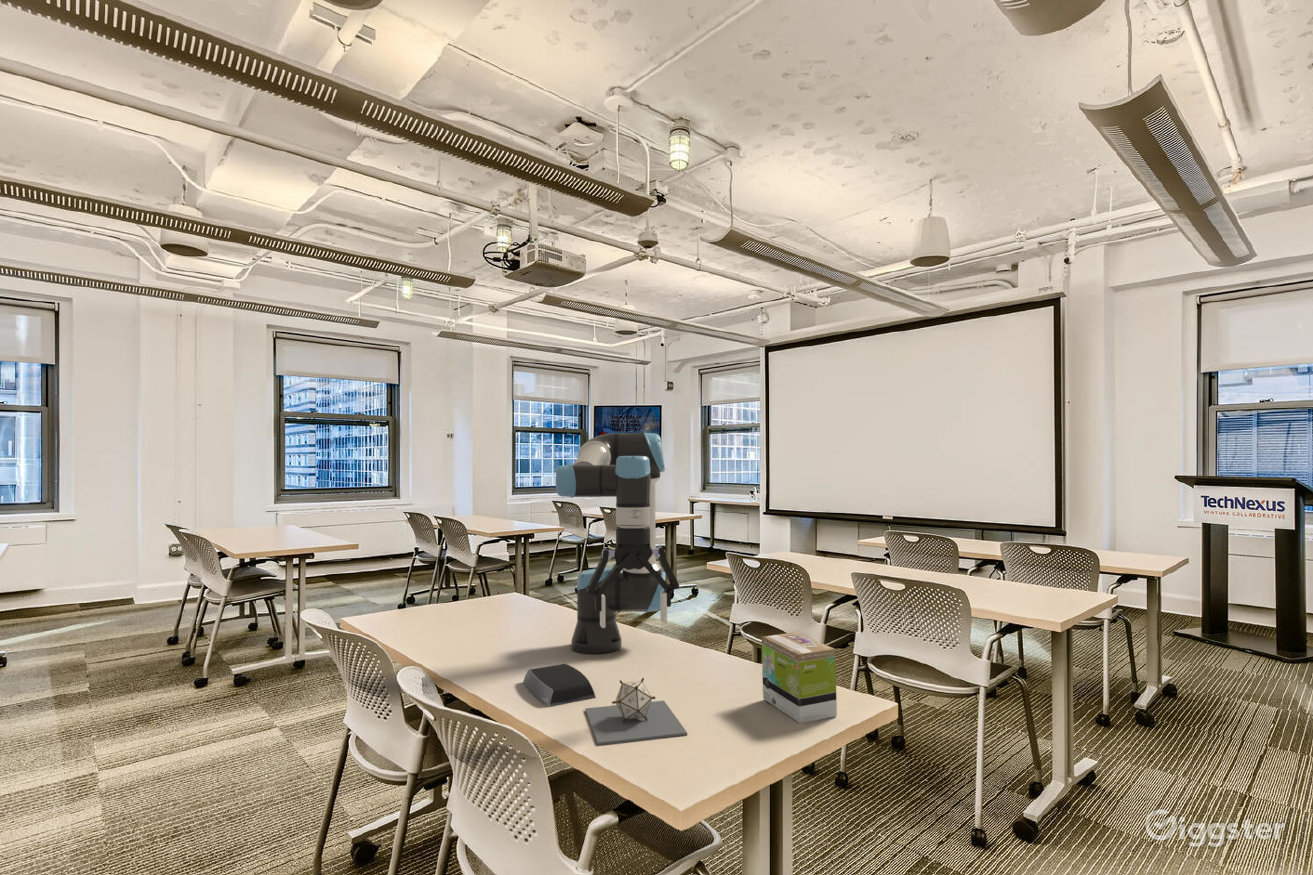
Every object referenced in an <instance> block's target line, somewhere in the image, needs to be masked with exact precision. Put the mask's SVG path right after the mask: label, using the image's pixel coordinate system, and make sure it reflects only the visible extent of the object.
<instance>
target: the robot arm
mask: <svg viewBox="0 0 1313 875" xmlns="http://www.w3.org/2000/svg"><path fill="white" fill-rule="evenodd" d="M662 445H663V444H662V438H661V436H660V435H659V434H658V433H653V432H622V433H621V432H617V433H616V432H612V433H604V434H600V435H597V436H595V437H593V438H590V439H588V440H587V441H586V442H584V443H583V444H582V445H581V446H580V448H579V449H578V453H577V459H576V460H575V461H574V463H573V464H563V465H559V466H558V467H557V469H556V471H555V489H556V494H557V495H558V496H559V497H563V498H564V497H565V498H567V497H568V498H584V497H585V498H589V497H590V498H591V497H593V498H596V497H597V498H598V497H600V498H601V497H603V498H604V497H606V498H607V497H608V498H610V497H611V498H612V497H615V498H616V503H615V524H616V525H617V528H616V529H615V548H614V550H612V549H606V548H602V549H601V554H600V559H599V562H598V564H597V566H596V567H595V568H591V569H588V570H585V571H581V572H580V574H578V576H577V583H576V584H577V587H576V590H577V591H576V593H577V596H576V598H577V599H576V600H577V601H576V603H577V605H576V606H577V607H576V610H577V611H576V614H577V615H576V617H577V619H576V624H575V627H574V631H573V635H572V638H571V642H570V643H571V645H570V646H571V648H570V649H571V650H572V651H574V652H577V653H579V654H580V653H581V654H589V655H590V654H594V655H596V654H607V653H614V652H616V651H619V649H621V648H622V644H623V643H622V642H623V641H622V636H621V634H620V630H619V626H618V624H617V620H616V619H617V614H616V613H624V612H625V613H627V612H628V613H637V612H638V613H639V612H641V613H649V612H658V611H660V614H659V615H660V621H661V623H662V624H667V623H668V608H669V607H671V606H672V593H673V591H674V590H678V589H679V588H680V584H679V582H678V580H677V578H676V576H675V574H674V572H673V570H672V567H671V565H670V564H669V562H668V560H667V558H666V550H665V548H664V547H662V546H661V545H660V546H656V544H657V543H656V542H657V541H656V539H657V538H656V532H657V531H656V529H657V528H656V483H657V482H658V481H659V480H660V479H661V473H664V472H665V471H666V469H665V468H666V467H665V460H664V454H663V453H664V452H663V447H662ZM613 556H614V557H615V558H616V563H614V565H613V566H607V564H608V562H609V561H611V559H612V557H613ZM656 558H657V559H658V561H659V563H658V562H657V560H656ZM661 568H662V569H663V571H661V570H662V569H661ZM666 577H667V579H668V581H669V584H668V583H667V582H666Z"/></svg>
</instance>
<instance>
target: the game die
mask: <svg viewBox="0 0 1313 875" xmlns="http://www.w3.org/2000/svg"><path fill="white" fill-rule="evenodd" d="M644 680H645V678H644V677H642V678H641V680H639V681H630V682H623V681H622V679H620V680H619V683H620V684H621V685H620V688H619V690H618V693H617V695H616V698H615V700H614V701H612V702H611V704H612V705H617V707H618V709H619V710H620V712H621V714H622V716H623V718H624V720H623V723H625V720H627V719H635V718H645V720H647V717H646V714H647V711H648V708H649V706H650V703H651V702H652V700H655V699H656V698H657V697H656V696H652V695H651V693H650V692H649V690H648V689H647V687H646V686H645V684H644ZM647 721H648V720H647Z"/></svg>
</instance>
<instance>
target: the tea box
mask: <svg viewBox="0 0 1313 875" xmlns="http://www.w3.org/2000/svg"><path fill="white" fill-rule="evenodd" d="M836 661H837V660H836V648H834V647H831V646H829V645H827V644H825V643H822V642H820V641H817V640H815V639H814V638H810V637H809V636H807V635H804V634H802V633H800V632H797V631H794V632H788V633H787V632H786V633H780V634H779V633H778V634H774V635H773V634H772V635H768V636H767V635H765V636H763V635H762V636H761V666H762V669H761V670H762V672H761V674H762V699H763V700H764V701H766V702H768V703H770V704H771V705H773V707H775V708H777V709H778V710H780V711H781V712H782V713H784V714H786V715H787V716H788V717H790V718H791V719H793V720H794V721H795V722H797V723H798V724H806V723H811V722H815V721H821V720H824V719H829V718H830V719H831V718H836V717H837V716H838V709H837V708H838V707H837V706H838V704H837V703H838V702H837V664H836Z"/></svg>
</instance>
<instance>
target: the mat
mask: <svg viewBox="0 0 1313 875" xmlns="http://www.w3.org/2000/svg"><path fill="white" fill-rule="evenodd" d="M584 709H585V710H584V711H585V713H586V716H587V719H588V722H589V725H590V728H591V730H592V733H593V736H594V738H595V741H596V745H597V746H605V745H613V744H614V745H615V744H624V743H632V742H641V741H649V740H656V739H666V738H674V737H682V736H688V732H687V730H686V729H685V727H684V726H683V724H681V722H680V720H679V719H678V718H677V716H676V715H675V714H674V713H673V711H672V709H671V708H670V707H669V706H668V704H667V703H666V701H665V700H656V701H651V703H650V706H649V708H648V711H647V714H646V717H647V720H648V721H647V720H645V718H635V719H627V720H625V723H623V720H624V718H623V716H622V714H621V712H620V710H619V709H618V707H617V705H616V704H613V705H607V706H606V705H603V706H598V707H597V706H596V707H595V706H594V707H587V708H584Z"/></svg>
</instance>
